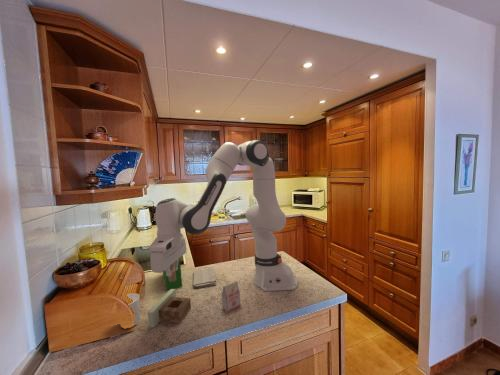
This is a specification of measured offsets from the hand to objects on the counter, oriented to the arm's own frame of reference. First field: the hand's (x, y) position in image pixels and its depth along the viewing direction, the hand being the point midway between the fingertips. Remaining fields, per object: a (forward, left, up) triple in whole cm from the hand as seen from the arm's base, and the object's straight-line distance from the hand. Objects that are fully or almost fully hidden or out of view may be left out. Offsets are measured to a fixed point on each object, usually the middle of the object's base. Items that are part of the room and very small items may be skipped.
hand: (172, 272), depth 87 cm
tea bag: (-22, -8, -18) cm, 29 cm away
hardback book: (+16, -25, -18) cm, 35 cm away
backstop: (+5, 0, -18) cm, 19 cm away
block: (0, 0, -18) cm, 18 cm away
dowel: (0, 0, -3) cm, 3 cm away
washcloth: (-1, -29, -19) cm, 34 cm away
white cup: (+15, +7, -18) cm, 25 cm away
